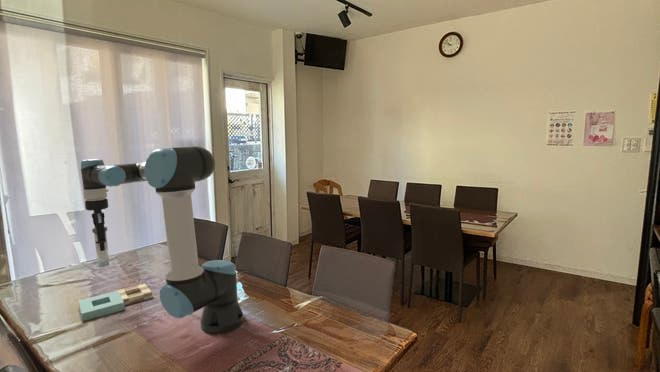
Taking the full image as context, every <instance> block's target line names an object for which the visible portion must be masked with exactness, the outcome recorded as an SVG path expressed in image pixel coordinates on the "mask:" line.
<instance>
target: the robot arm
mask: <svg viewBox="0 0 660 372" xmlns="http://www.w3.org/2000/svg"><path fill="white" fill-rule="evenodd" d="M215 168H216V160H215V158H214V156H213V154H212V153H211V152H210V151H209V150H208V149H206V148H204V147H203V146H202V147H201V146H185V147H184V146H183V147H179V146H178V147H165V148H163V147H162V148H157V149H154V150H153V151H152V152H150V153H149V155H148V157H147V158H146V160H145V161H141V162H134V163H122V164H121V163H120V164H107V165H106V164H105V163H104V160H103V159H101V158H90V159H87V158H86V159H83V160H81V161H80V173H81V174H80V175H81V180H82V187H83V188H82V191H83V199H84V200H85V201H84V206H85V210H86V211H89V212H91V211H93V212H92V213H91V218H92V223H93V225H94V228H96V231H97V239H98V241H97V242H96V244H98V253H99V259H103V258H107V250H106V238H105V229H104V227H105V217H106V216H105V213H104V212H102V211H103V210H106V209H108V208H109V200H108V198H107V197H108V193H107V192H109V189H108V188H107V187H118V186H120V185H125V184H131V183H140V182H147V183H148V185H149V186H150V187H152V188H153V189H155V193H156V194H157V195H158V196H160V197H161V201H162V202H161V203H162V210H163V219H164V228H165V235H166V243H167V244H166V246H167V253H168V255H167V256H168V262H169V271H168V272H167V274H166V276H165V282H166V284H164V285H163V286H162V287H161V288H160V290H159V295H158V296H159V300H160V303H161V305H162V307H163V309H164V310H165V311H166V313H168V314H169V315H170V316H172V317H173V318H175V319H181V318H185V317H187V316H191V315H193V314H194V313H195V312H198V311H199V310H201V309H203V310H202V313H201V317H200V329H201V330H202V331H203V332H205V333H208V334H224V333H228V332H230V331H231V332H232V331H234V330H236V329H237V328H238V327H240V326H241V325H242V324H243V323H244V311H243V310H242V307H241V305H240V302H239V300H238V287H237V286H238V283H237V271H236V270H237V268H236V265H235V263H234V262H232V261H230V260H226V259H225V260H224V259H216V260H215V259H214V260H213V259H212V260H209V261H204V262H203V263H202V264H201V266H200V264H199V259H198V257H199V256H198V247H197V240H196V230H195V219H194V210H193V209H194V208H193V201H192V194H193V192H194V191H195V190H196V183H197V182H200V181H204V180H205V181H206V179H208V178H209V177H211V176H212V174H213V173H214V172H215Z"/></svg>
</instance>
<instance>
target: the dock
mask: <svg viewBox="0 0 660 372" xmlns="http://www.w3.org/2000/svg"><path fill="white" fill-rule="evenodd" d="M125 306H126V305H124V301H123V299H122V297H121V295H120V293H119V292H118V291H117V290H114V291H111V292H108V293H104V294H99V295H96V296H92V297H91V296H90V297H87V298H83V299H79V300H78V307H79V312H80V317H81V320H82V322H85V321H88V320H92V319H96V318H100V317H103V316H106V315H110V314H113V313H118V312H120V311H124V310H125Z"/></svg>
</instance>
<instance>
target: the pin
mask: <svg viewBox="0 0 660 372" xmlns="http://www.w3.org/2000/svg"><path fill="white" fill-rule="evenodd" d="M104 229H105V238H106V250H107V258H103V259H99V253H98V244H96V242H97V241H98V239H97V231H96V228H95V227H94V228H92V229H91V231H92V232H91V233H92V234H93V235H94V243H95V253H96V261H97V267H99V268H104V267H108V266H110V256H109V255H110V254H109V248H108V236H107V232H108V227H107V226H104Z"/></svg>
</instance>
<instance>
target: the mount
mask: <svg viewBox="0 0 660 372" xmlns="http://www.w3.org/2000/svg"><path fill="white" fill-rule="evenodd" d="M116 291H118V292H119V293H120V295H121V297H122V299H123V301H124V306H127V305H131V304H134V303H138V302H141V301H145V300H149V299H152V298H153V292H152V291H151V289H150V288H149V286H148V285H147V283H141V284H137V285H133V286H129V287H125V288H120V289H117V290H116Z"/></svg>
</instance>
